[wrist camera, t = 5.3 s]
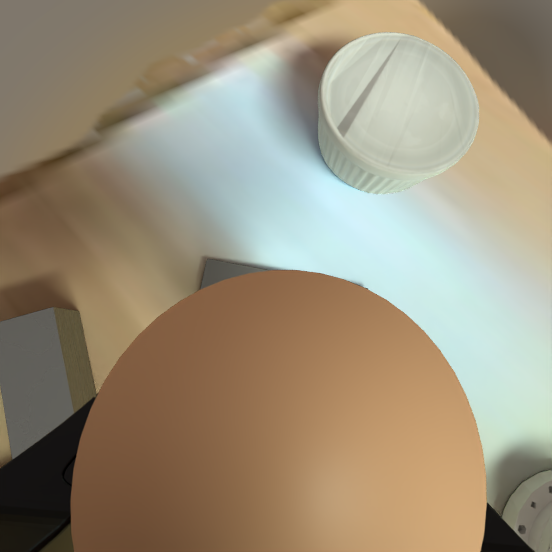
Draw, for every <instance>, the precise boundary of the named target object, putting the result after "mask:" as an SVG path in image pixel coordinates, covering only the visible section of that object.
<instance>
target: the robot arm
mask: <svg viewBox="0 0 552 552" xmlns="http://www.w3.org/2000/svg"><path fill="white" fill-rule="evenodd" d="M97 395H98V394H96V397H97ZM96 397H93V398H91V399H90V400H89V401H88V402H87V403H86V404H84V405H83V406H82V407H81V408H80V409H79V410H77V411H76V412H75V413H74V414H72V415H71V416H70V417H69V418H68V419H66V420H65V421H64V422H63V423H61V424H60V425H59V426H57V427H56V428H55V429H53V430H52V431H51V432H49V433H48V434H47V435H45V436H44V437H43V438H41V439H40V440H39V441H37V442H36V443H35V444H33V445H32V446H30V447H29V448H28V449H26V450H25V451H24V452H22V453H21V454H19V455H18V456H17V457H15V458H14V459H12V460H11V461H10V462H8V463H7V464H5V465H4V466H3V467H1V468H0V552H74V547H73V541H72V534H71V490H72V480H73V470H74V465H75V460H76V456H77V451H78V447H79V442H80V438H81V435H82V432H83V429H84V426H85V424H86V421H87V418H88V415H89V412H90V409H91V407H92V405H93V403H94V401H95V399H96ZM480 552H535V551H534V550H533V549H532V548H531V547H530V546H528V545H527V544H526V543H525V542H524V540H523V539H522V538H521V537H520V536H519V535H518V534H517V533H516V532H515V531H514V530H513V529H512V528H511V527H510V526H509V525H508V524H507V523H506V522H505V521H504V520H503V518H502V517H501V516H500V515H499V514H498V513H497V512H496V511H495V510H494V509H493V508H492V507H491V506H490V505H489V504H488V503H487V506H486V518H485V529H484V537H483V541H482V546H481V551H480Z"/></svg>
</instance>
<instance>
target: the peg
mask: <svg viewBox="0 0 552 552" xmlns="http://www.w3.org/2000/svg"><path fill="white" fill-rule="evenodd" d="M486 506H487V497H486V472H485V464H484V457H483V449H482V445H481V441H480V436H479V432H478V428H477V424H476V421H475V418H474V415H473V412H472V410H471V407H470V404H469V402H468V399H467V396H466V394H465V392H464V390H463V388H462V386H461V384H460V382H459V380H458V378H457V376H456V374H455V372H454V371H453V369H452V368H451V366H450V365H449V363H448V362H447V360H446V359H445V357H444V356H443V354H442V353H441V351H440V350H439V348H438V347H437V346H436V345H435V344H434V343H433V341H432V340H431V339H430V338H429V337H428V335H427V334H426V333H425V332H424V331H423V330H422V329H421V328H420V327H419V326H418V325H417V324H416V323H415V322H414V321H413V320H412V319H410V318H409V317H408V316H407V315H406V314H405V313H404V312H402V311H401V310H399V309H398V308H397V307H395V306H394V305H393V304H391V303H390V302H389V301H387V300H386V299H384V298H382V297H380V296H378V295H377V294H375V293H373V292H371V291H370V290H368V289H366V288H364V287H361V286H359V285H356V284H354V283H351V282H349V281H346V280H344V279H340V278H337V277H333V276H329V275H325V274H321V273H315V272H307V271H299V270H271V271H263V272H255V273H248V274H244V275H241V276H237V277H233V278H229V279H225V280H223V281H220V282H218V283H215V284H213V285H210V286H208V287H205V288H203V289H201V290H199V291H197V292H195V293H194V294H192V295H190V296H188V297H186V298H185V299H183V300H181V301H179V302H178V303H177V304H175V305H174V306H172V307H171V308H170V309H168V310H167V311H166V312H164V313H163V314H161V315H160V316H159V317H157V318H156V319H155V320H154V321H153V322H152V323H151V324H150V325H149V326H148V327H147V328H146V329H145V330H144V331H143V332H142V333H140V334H139V335H138V336H137V338H136V339H135V340H134V341H133V342H132V344H131V345H130V346H129V347H128V348H127V350H126V351H125V352H124V353H123V354H122V356H121V357H120V358H119V360H118V361H117V363H116V364H115V366H114V367H113V369H112V370H111V372H110V373H109V375H108V376H107V378H106V380H105V381H104V383H103V385H102V387H101V389H100V391H99V393H98V395H97V397H96V399H95V401H94V403H93V405H92V407H91V409H90V412H89V415H88V418H87V421H86V424H85V426H84V429H83V432H82V435H81V438H80V442H79V447H78V451H77V456H76V460H75V465H74V470H73V480H72V490H71V534H72V541H73V547H74V552H480V551H481V546H482V541H483V537H484V529H485V518H486Z"/></svg>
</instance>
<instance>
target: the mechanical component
mask: <svg viewBox="0 0 552 552" xmlns="http://www.w3.org/2000/svg"><path fill="white" fill-rule="evenodd" d="M502 518H503V520H504V521H505V522H506V523H507V524H508V525H509V526H510V527H511V528H512V529H513V530H514V531H515V532H516V533H517V534H518V535H519V536H520V537H521V538H522V539H523V540H524V542H525V543H526V544H527V545H528V546H530V547H531V548H532V549H533V550H534V551H535V552H552V470H548V471H544V472H540V473H537V474H536V475H534V476H532V477H531V478H529V479H527V480H526V481H524V482H522V483H521V485H520V486H519V487H518V488H517V489H516V491H515V492H514V493H513V494H512V495H511V497H510V499H509V501H508V503H507V505H506V507H505V509H504V511H503V515H502Z"/></svg>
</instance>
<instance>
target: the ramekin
mask: <svg viewBox="0 0 552 552" xmlns="http://www.w3.org/2000/svg"><path fill="white" fill-rule="evenodd" d="M318 109H319V120H318V141H319V147H320V150H321V154H322V156H323V158H324V160H325V162H326V163H327V165H328V167H329V168H330V169H331V170H332V171H333V173H334V174H335V175H337V176H338V177H339V178H340V179H341V180H343V181H344V182H345V183H347V184H349V185H350V186H352V187H354V188H356V189H358V190H360V191H364V192H367V193H373V194H393V193H397V192H401V191H403V190H407V189H409V188H410V187H412V186H414V185H416V184H418V183H420V182H421V181H423V180H425V179H427V178H430V177H433V176H436V175H438V174H440V173H442V172H444V171H445V170H447V169H449V168H450V167H451V166H453V165H454V164H455V163H457V162H458V161H459V160H460V159H461V158H462V157H463V155H464V154H465V153H466V152H467V151H468V149H469V148H470V146H471V144H472V143H473V141H474V138H475V135H476V132H477V128H478V123H479V104H478V100H477V96H476V94H475V91H474V88H473V86H472V85H471V82H470V81H469V79H468V77H467V75H466V74H465V72H464V71H463V70H462V68H461V67H460V66H459V65H458V64H457V62H456V61H455V60H454V59H452V58H451V57H450V56H449V55H448V54H447V53H445V52H444V51H443V50H441V49H440V48H438V47H437V46H435V45H433V44H431V43H429V42H427V41H425V40H423V39H420V38H418V37H415V36H412V35H408V34H402V33H394V32H384V33H374V34H369V35H366V36H362V37H360V38H357V39H355V40H353V41H351V42H349V43H347V44H346V45H344V46H343V47H342V48H341V49H339V50H338V51H337V52H336V53H335V54H334V56H333V57H332V58H331V59H330V61H329V62H328V64H327V66H326V68H325V70H324V72H323V75H322V78H321V81H320V85H319V91H318Z"/></svg>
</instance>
